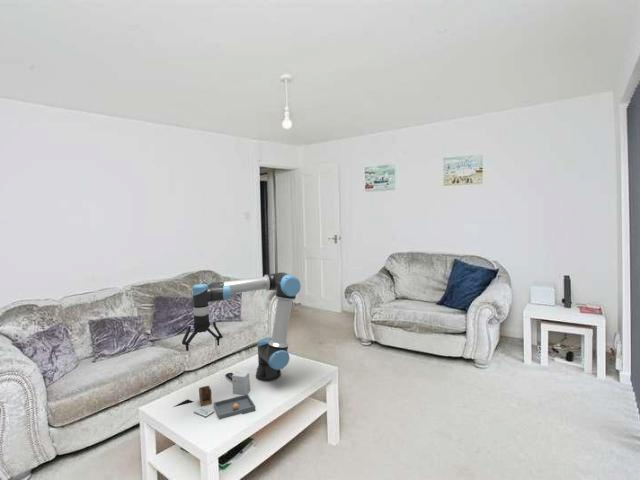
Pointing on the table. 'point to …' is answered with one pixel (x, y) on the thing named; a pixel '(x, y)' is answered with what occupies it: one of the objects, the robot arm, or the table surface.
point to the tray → (226, 406)
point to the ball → (235, 406)
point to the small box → (241, 383)
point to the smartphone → (184, 402)
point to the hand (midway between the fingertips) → (203, 354)
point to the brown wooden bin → (205, 396)
